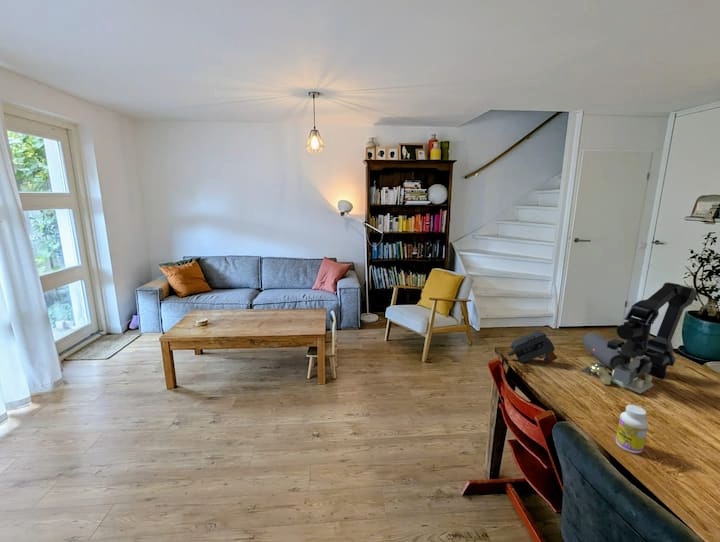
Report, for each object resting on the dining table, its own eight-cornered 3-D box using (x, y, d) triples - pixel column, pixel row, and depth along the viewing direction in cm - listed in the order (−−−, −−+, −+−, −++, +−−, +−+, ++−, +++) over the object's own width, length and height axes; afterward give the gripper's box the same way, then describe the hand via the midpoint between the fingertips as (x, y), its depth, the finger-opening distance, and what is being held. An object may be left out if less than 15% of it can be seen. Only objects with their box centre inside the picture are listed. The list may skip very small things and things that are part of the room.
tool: (561, 360, 150) (547, 332, 148) (519, 376, 155) (505, 349, 154) (556, 354, 155) (542, 327, 154) (516, 369, 161) (502, 343, 159)
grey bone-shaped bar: (635, 367, 143) (637, 356, 141) (650, 372, 138) (652, 361, 137) (612, 378, 134) (614, 367, 133) (628, 384, 129) (630, 373, 128)
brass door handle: (586, 367, 148) (588, 360, 147) (602, 369, 146) (603, 362, 146) (598, 383, 136) (599, 375, 135) (615, 385, 134) (616, 377, 133)
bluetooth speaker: (579, 350, 166) (582, 331, 164) (599, 351, 165) (603, 332, 162) (605, 373, 144) (609, 352, 142) (629, 375, 143) (633, 353, 140)
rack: (621, 373, 144) (623, 364, 143) (653, 385, 135) (655, 375, 134) (608, 380, 139) (610, 370, 138) (640, 393, 129) (642, 383, 128)
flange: (591, 365, 151) (591, 365, 151) (614, 374, 143) (614, 374, 143) (580, 370, 146) (580, 370, 146) (603, 380, 139) (603, 379, 139)
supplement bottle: (609, 439, 105) (616, 403, 102) (629, 437, 106) (636, 401, 103) (628, 455, 99) (635, 417, 96) (648, 453, 99) (657, 415, 96)
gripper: (602, 331, 136) (597, 365, 140) (659, 348, 120) (652, 387, 124) (616, 325, 142) (610, 359, 145) (673, 342, 126) (665, 379, 129)
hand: (632, 370), depth 136 cm, fingers closed on grey bone-shaped bar, 3 cm apart
